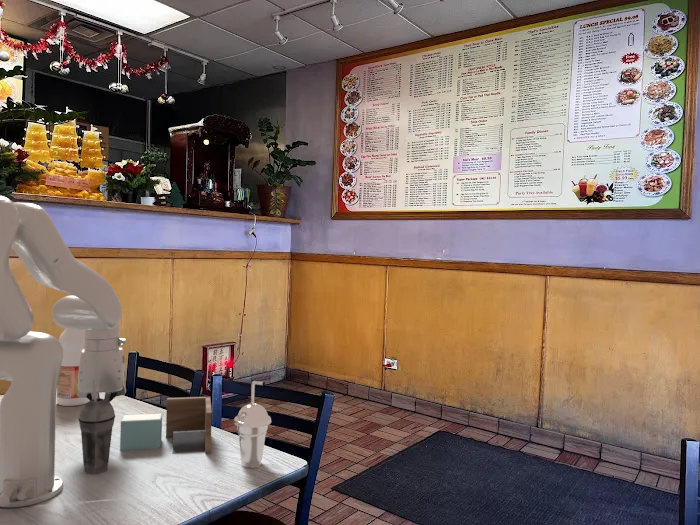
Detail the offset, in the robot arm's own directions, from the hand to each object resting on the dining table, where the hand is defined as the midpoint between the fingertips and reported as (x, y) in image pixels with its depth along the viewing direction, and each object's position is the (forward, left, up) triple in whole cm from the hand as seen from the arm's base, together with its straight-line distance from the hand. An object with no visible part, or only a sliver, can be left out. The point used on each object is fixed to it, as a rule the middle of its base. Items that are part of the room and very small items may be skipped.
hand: (102, 419), depth 132 cm
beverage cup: (-14, -1, -7) cm, 16 cm away
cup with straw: (-17, -34, -7) cm, 39 cm away
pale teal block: (-1, -9, -7) cm, 11 cm away
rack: (-2, -20, -7) cm, 21 cm away
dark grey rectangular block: (-6, -20, -7) cm, 22 cm away
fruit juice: (+41, +14, -7) cm, 44 cm away
